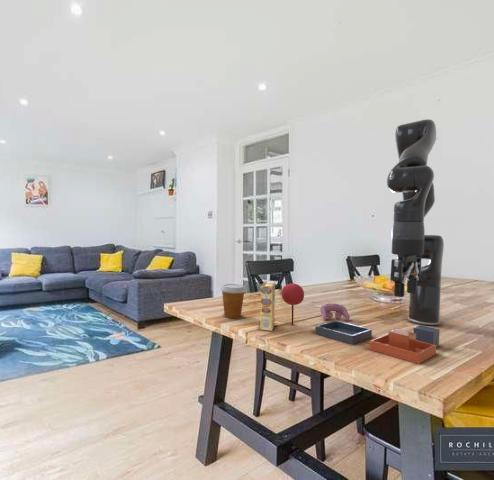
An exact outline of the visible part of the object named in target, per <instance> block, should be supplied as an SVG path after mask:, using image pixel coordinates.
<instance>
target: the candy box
mask: <svg viewBox="0 0 494 480" xmlns="http://www.w3.org/2000/svg"><path fill="white" fill-rule="evenodd" d="M275 305H276V282H270V281H264V282H263V283H262V284H261V285H260V320H259V321H260V322H259V323H260V324H259V325H260V328H259V330H260V331H269V332H270V331H271V332H272V331H273V329H274V326H275V308H276V307H275Z"/></svg>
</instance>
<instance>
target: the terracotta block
mask: <svg viewBox="0 0 494 480" xmlns="http://www.w3.org/2000/svg"><path fill="white" fill-rule="evenodd" d="M388 334H389V345H390V346H394V347H398V348H401V349H405V350H409V351H412V352H414V351H416V333H414V331H408V330H403V329H399V328H395V329H392V330H389V331H388Z"/></svg>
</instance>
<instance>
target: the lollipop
mask: <svg viewBox="0 0 494 480" xmlns="http://www.w3.org/2000/svg"><path fill="white" fill-rule="evenodd" d="M281 299H282V300H283V301H284V303H286V304H288V305H291V326H294V306H298V305H300V304H301V303H302V302H303V301H304V299H305V290H304V289H303V287H302V286H301V285H299V284H298V283H287V284H285V285H284V286H283V287H282V289H281Z"/></svg>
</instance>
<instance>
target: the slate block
mask: <svg viewBox="0 0 494 480" xmlns="http://www.w3.org/2000/svg"><path fill="white" fill-rule="evenodd" d="M413 333H416V340H417V341H421V342H425V343H430V344H434V345H436V348H437V347H439V346H440V329H439V328H435V327H431V326H427V325H422V324H419V325H417V326H415V327H413Z"/></svg>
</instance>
